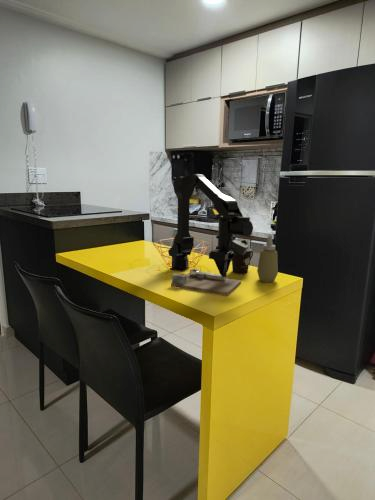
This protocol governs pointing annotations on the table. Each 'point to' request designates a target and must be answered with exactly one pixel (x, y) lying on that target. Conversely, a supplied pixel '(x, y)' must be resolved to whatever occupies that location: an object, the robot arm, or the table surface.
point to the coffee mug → (241, 262)
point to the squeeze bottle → (268, 262)
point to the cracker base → (205, 284)
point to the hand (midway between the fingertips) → (224, 273)
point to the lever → (208, 274)
